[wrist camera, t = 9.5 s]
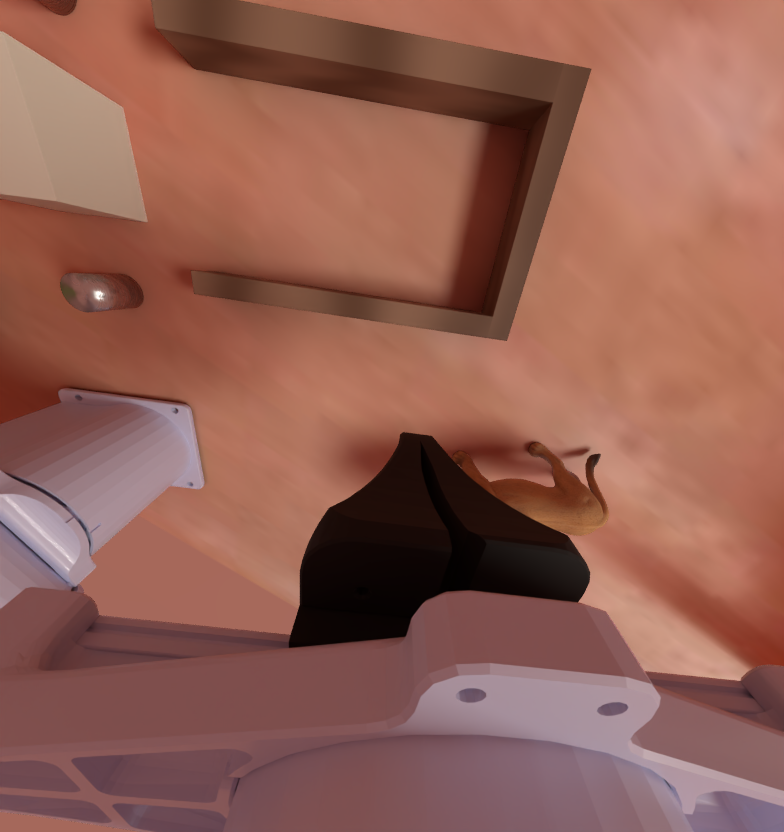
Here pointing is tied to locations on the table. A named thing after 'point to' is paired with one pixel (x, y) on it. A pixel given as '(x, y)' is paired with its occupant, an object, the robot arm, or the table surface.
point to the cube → (62, 141)
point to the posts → (86, 287)
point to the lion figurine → (549, 494)
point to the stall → (400, 86)
